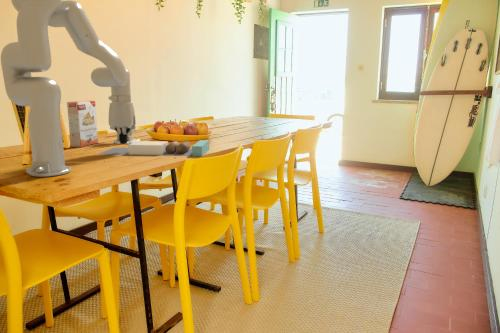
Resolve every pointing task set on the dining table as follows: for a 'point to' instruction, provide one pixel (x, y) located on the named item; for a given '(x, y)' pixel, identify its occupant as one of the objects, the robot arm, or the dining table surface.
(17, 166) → the dining table surface
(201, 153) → the stop block
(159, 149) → the slab
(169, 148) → the roller
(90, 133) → the cracker box
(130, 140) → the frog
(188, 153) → the mat
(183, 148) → the roller
